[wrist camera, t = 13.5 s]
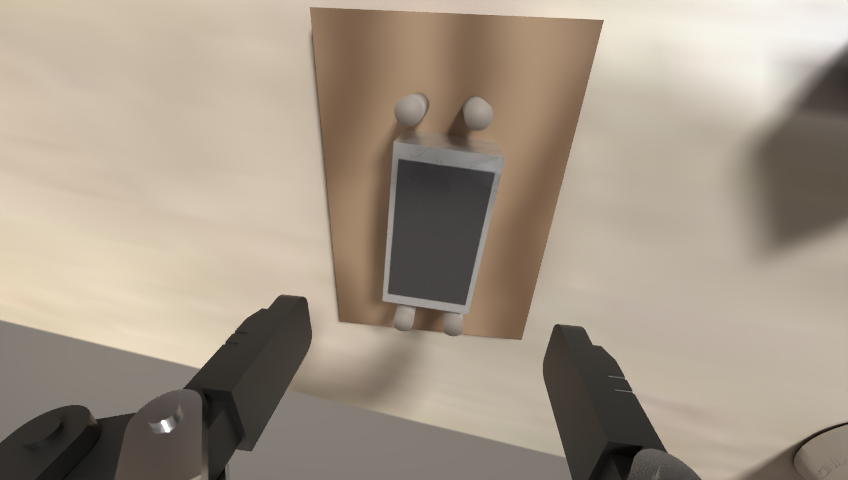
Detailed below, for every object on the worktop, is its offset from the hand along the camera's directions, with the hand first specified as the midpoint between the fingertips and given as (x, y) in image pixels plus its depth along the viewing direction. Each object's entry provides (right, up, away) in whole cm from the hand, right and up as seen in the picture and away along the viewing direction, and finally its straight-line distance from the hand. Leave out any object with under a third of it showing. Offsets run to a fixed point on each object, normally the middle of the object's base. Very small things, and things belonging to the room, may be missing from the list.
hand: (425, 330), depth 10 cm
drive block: (+1, +5, +9) cm, 11 cm away
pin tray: (+1, +5, +10) cm, 12 cm away
